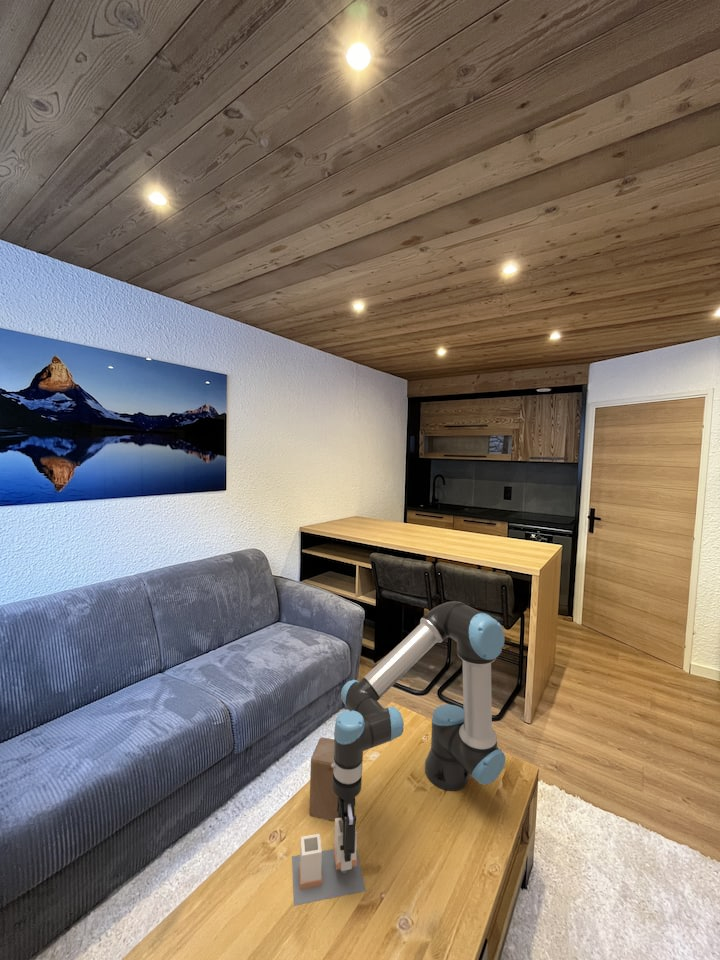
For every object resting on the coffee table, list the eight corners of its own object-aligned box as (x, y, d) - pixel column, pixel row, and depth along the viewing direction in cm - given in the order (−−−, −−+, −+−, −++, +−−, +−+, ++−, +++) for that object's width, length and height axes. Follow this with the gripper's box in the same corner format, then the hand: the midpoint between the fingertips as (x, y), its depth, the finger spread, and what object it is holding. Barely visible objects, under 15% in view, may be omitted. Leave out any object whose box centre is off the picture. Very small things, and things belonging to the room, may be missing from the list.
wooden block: (340, 827, 119) (342, 764, 118) (308, 820, 121) (309, 758, 120) (347, 799, 129) (349, 740, 128) (318, 792, 131) (319, 735, 130)
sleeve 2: (353, 845, 109) (354, 814, 108) (357, 865, 104) (358, 833, 103) (333, 848, 108) (334, 817, 107) (336, 869, 102) (337, 837, 102)
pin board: (356, 849, 113) (356, 825, 112) (365, 896, 101) (366, 869, 101) (291, 861, 109) (292, 836, 109) (293, 911, 97) (294, 882, 97)
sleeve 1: (319, 863, 107) (320, 832, 107) (321, 885, 102) (322, 853, 101) (299, 867, 106) (299, 836, 106) (300, 889, 101) (301, 856, 100)
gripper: (328, 749, 112) (325, 826, 114) (338, 807, 94) (335, 897, 96) (354, 746, 114) (351, 822, 115) (369, 802, 96) (365, 891, 97)
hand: (344, 856), depth 106 cm, fingers closed on sleeve 2, 5 cm apart
